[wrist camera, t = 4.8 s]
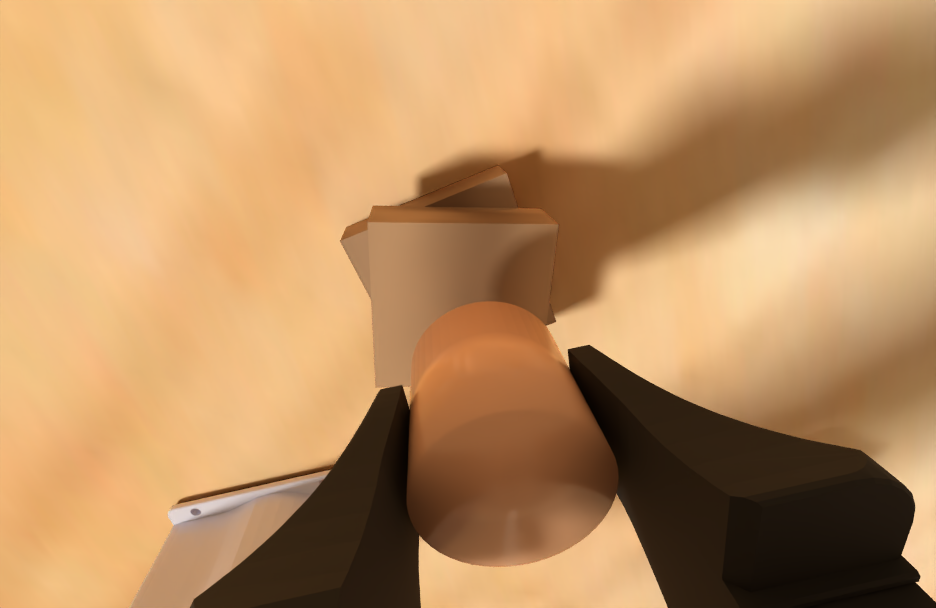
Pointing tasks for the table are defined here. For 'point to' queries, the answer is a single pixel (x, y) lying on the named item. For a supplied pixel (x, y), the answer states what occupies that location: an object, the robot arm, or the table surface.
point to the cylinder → (502, 441)
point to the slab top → (450, 271)
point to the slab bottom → (469, 192)
